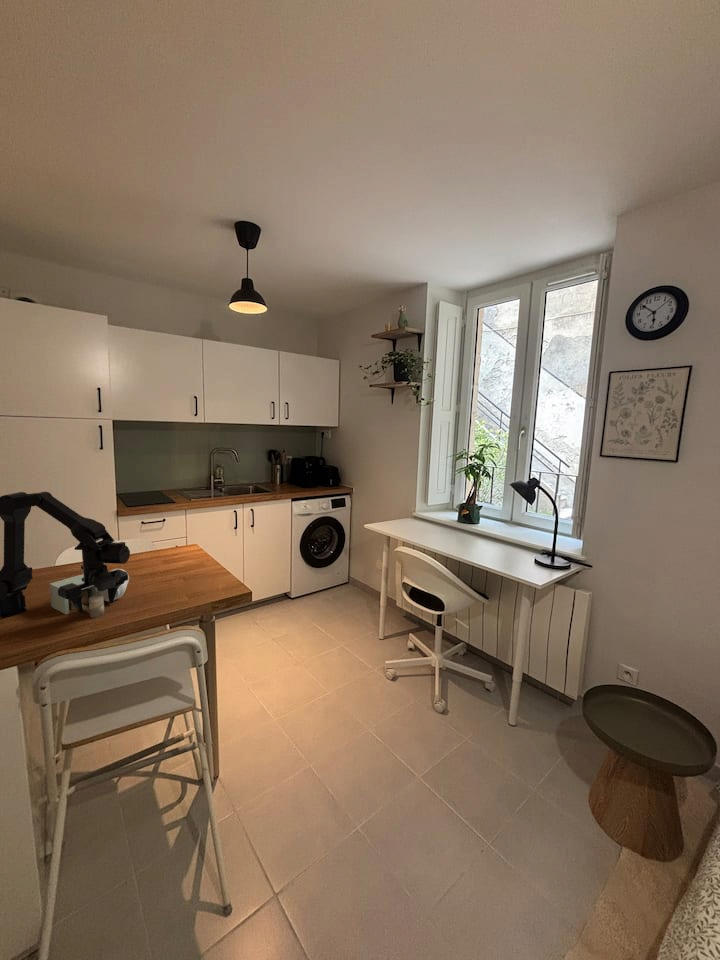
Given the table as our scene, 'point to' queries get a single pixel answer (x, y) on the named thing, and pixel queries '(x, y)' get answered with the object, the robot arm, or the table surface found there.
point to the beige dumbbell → (91, 604)
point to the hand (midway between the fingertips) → (96, 608)
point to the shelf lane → (62, 603)
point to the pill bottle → (119, 592)
